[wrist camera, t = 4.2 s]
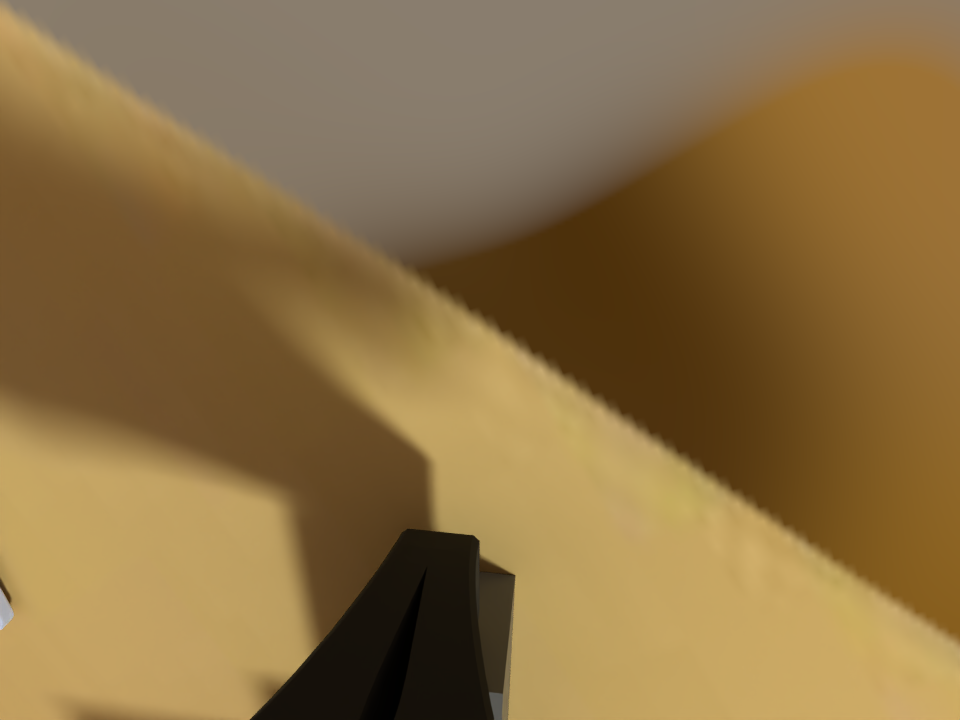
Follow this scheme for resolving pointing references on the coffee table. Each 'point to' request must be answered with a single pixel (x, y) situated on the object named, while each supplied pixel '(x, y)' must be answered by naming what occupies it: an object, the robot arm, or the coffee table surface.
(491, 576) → the plug
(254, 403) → the coffee table surface
